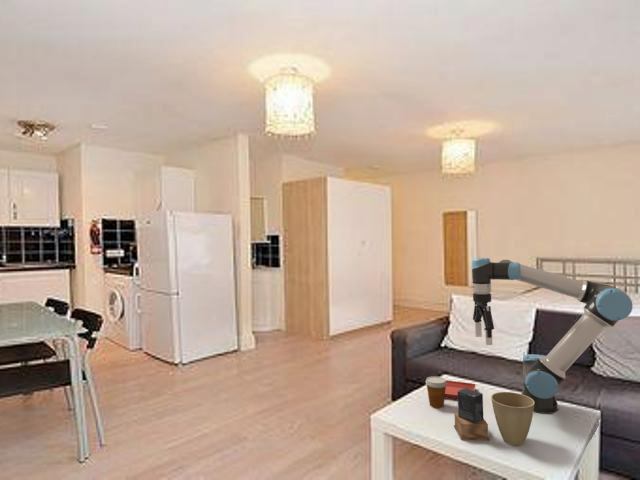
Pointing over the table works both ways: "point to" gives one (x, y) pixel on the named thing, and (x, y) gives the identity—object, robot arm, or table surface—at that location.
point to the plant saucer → (456, 388)
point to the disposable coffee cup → (436, 391)
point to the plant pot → (513, 416)
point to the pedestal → (471, 429)
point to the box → (470, 405)
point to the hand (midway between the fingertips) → (483, 340)
